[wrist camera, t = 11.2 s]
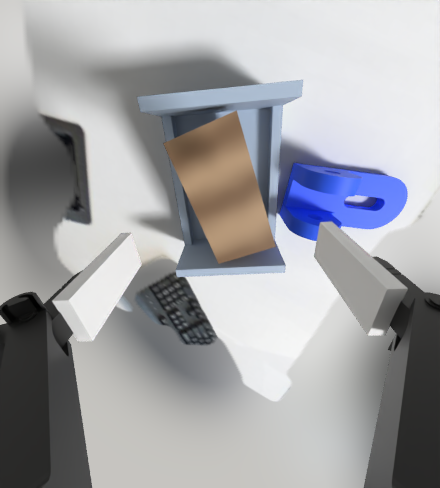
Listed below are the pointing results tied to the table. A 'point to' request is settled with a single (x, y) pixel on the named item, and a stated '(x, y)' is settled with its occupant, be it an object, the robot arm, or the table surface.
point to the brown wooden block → (222, 187)
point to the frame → (261, 154)
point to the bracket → (338, 199)
